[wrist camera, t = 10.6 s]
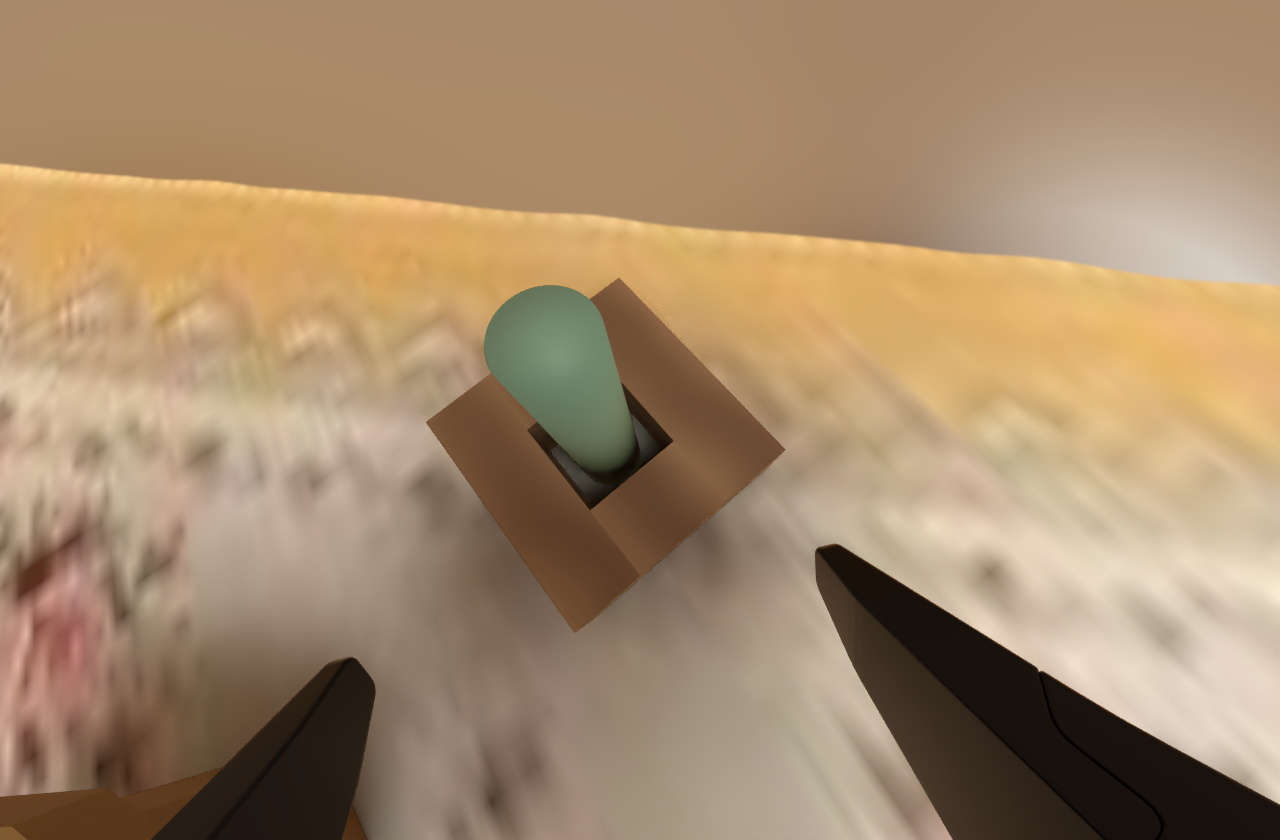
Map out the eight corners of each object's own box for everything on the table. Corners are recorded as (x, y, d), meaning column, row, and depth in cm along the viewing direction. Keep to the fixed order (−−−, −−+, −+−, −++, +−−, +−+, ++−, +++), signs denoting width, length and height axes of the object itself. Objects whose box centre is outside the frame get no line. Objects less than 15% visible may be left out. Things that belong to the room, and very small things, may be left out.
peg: (624, 495, 23) (568, 417, 11) (571, 469, 24) (460, 366, 11) (650, 442, 24) (626, 311, 11) (599, 418, 24) (523, 268, 12)
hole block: (591, 620, 22) (574, 632, 18) (464, 444, 24) (426, 422, 21) (766, 468, 23) (785, 449, 19) (626, 319, 26) (619, 277, 22)
